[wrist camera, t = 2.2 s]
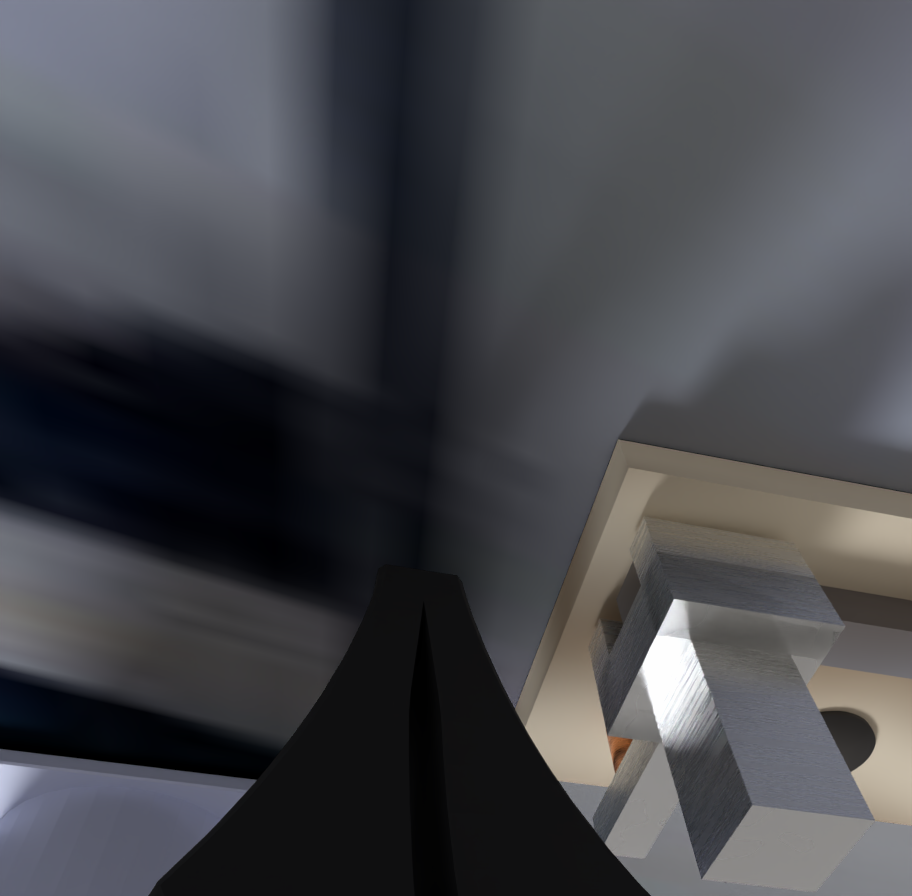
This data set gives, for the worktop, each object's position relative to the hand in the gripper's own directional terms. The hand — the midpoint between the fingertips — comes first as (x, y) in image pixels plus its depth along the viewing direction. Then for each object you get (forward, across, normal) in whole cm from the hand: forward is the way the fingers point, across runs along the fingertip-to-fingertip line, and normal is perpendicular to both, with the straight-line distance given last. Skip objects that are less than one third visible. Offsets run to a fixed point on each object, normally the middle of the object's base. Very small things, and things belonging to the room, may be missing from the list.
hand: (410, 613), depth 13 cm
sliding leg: (+2, -5, +2) cm, 6 cm away
